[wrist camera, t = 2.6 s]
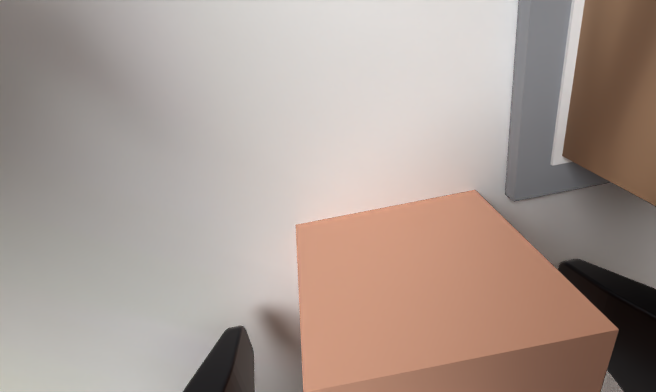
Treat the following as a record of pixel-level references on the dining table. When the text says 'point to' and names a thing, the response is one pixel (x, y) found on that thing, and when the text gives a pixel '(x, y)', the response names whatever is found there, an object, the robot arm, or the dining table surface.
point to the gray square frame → (544, 100)
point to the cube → (441, 305)
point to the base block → (616, 95)
